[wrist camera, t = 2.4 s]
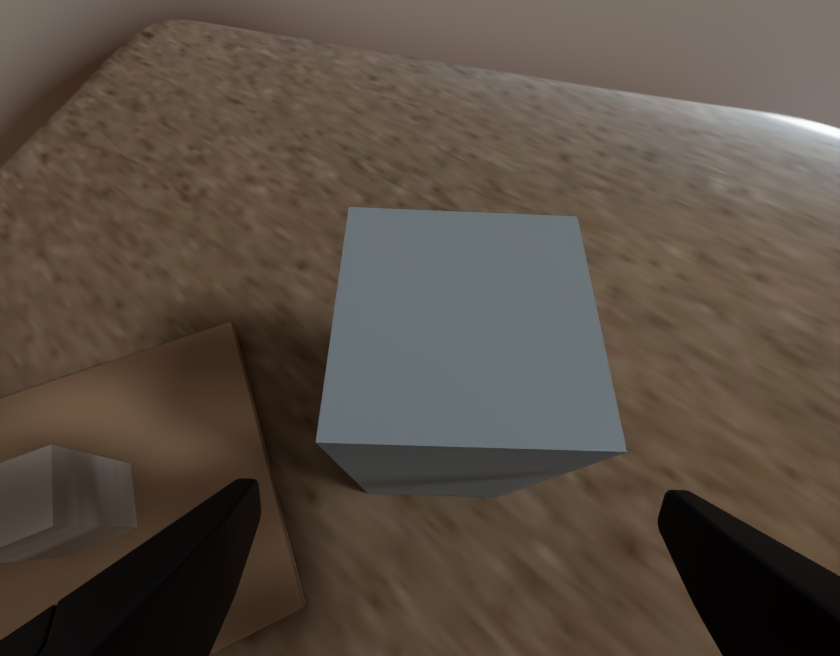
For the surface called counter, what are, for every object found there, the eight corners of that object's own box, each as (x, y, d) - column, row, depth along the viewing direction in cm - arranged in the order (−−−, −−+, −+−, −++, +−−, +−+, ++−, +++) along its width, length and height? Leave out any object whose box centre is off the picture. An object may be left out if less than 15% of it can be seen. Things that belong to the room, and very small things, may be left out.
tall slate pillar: (497, 497, 18) (627, 452, 8) (368, 493, 18) (315, 442, 7) (489, 375, 21) (577, 216, 10) (377, 371, 21) (348, 207, 10)
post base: (306, 605, 16) (267, 635, 12) (-101, 811, 13) (-367, 958, 9) (235, 326, 22) (190, 273, 17) (-61, 426, 19) (-209, 393, 14)
